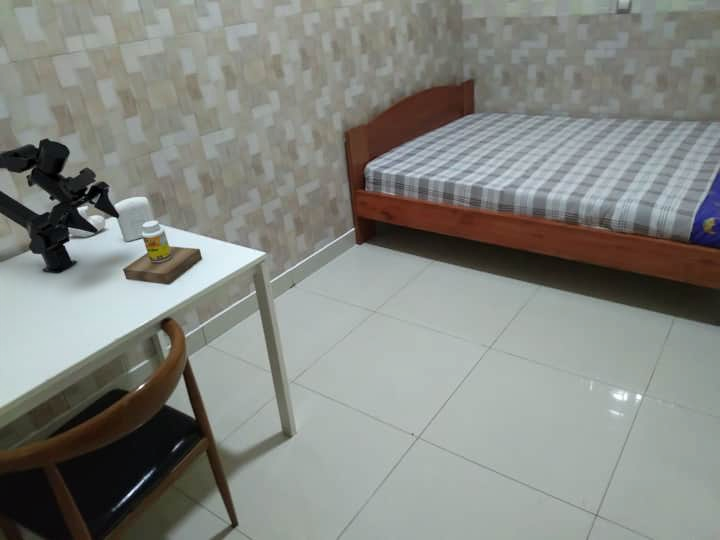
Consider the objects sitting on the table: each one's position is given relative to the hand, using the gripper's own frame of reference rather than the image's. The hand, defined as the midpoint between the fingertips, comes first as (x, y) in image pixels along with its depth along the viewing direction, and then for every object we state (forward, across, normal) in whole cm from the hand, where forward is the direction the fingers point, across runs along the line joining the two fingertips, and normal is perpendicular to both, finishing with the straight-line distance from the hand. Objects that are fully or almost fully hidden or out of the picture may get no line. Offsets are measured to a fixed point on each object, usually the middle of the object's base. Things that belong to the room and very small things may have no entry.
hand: (108, 224), depth 133 cm
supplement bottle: (+16, +1, -1) cm, 16 cm away
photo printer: (+4, +21, +16) cm, 27 cm away
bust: (-10, +22, +30) cm, 39 cm away
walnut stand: (+18, +1, +1) cm, 18 cm away
